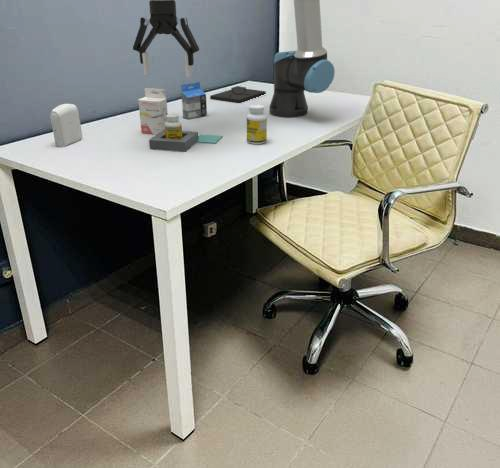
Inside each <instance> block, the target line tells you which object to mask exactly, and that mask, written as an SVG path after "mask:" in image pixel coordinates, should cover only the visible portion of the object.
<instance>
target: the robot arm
mask: <svg viewBox="0 0 500 468" xmlns="http://www.w3.org/2000/svg"><path fill="white" fill-rule="evenodd" d="M148 4H149V14H150V17H146V16H144V17H141V18H140V21H139V22H140V24H139V29H138V31H137V34H136V37H135V41H134V44H133V46H132V50H133V51H136V52H138V54H139V62H140V64H141V65H143V66H142V67H143V76H145V77H146V76H149V75H151V69H150V55H149V52H148V51H147V49H148V48H149V47H150V45H151V43H152V41H153V40H154V39H155V37H156V36H157V35H163V34H164V35H172V36H173V37H174V38H175V40H176V41H177V43H179V45H180V46H181V47H182V48H183V50H184V51H185V52H186V54H184V63H185V64H184V66H185V78H190V77H192V66H194V65H195V64H194V63H195V62H194V61H195V59H194V54H195V53H197V52H199V51H200V47H199V45H198V43H197V41H196V39H195V37H194V35H193V33H192V31H191V28H190V27H189V24H188V23H189V22H188V19H187V17H181V18H178V17H177V6H176V5H177V3H176V0H149V2H148ZM293 7H294V9H293V10H294V17H295V18H294V22H295V33H296V45H297V50H290V51H279V52H276V54H275V55H274V60H273V65H274V66H273V67H274V70H273V72H274V74H273V75H274V78H273V79H274V81H273V96H272V99H271V101H270V104H269V111H268V113H269V114H270V115H272V116H275V117H282V118H296V117H303V116H306V115H307V114H308V113H309V107H308V102H307V100H306V95H305V92H308V93H312V94H313V93H314V94H321V93H323V92H325V91H326V90H327V89H328V88H329V87H330V86H331V84H332V83H333V81H334V79H335V74H336V73H335V66H334V64H333V63H332V62H331V61H330V60H329V59H328V50H327V49H326V48H324V46H323V37H322V19H321V18H322V17H321V3H320V0H293ZM149 25H151V27H152V28H151V29H150V31H149V33H148V34H147V36H146V38H145V39H144V37H145V35H146V32H147V29H148V26H149ZM178 25H179V27H181V30H182V32H183V34H184V36H185V37H186V39H185V38H184V37H183V35H182V34H181V33H180V31H179V29H178V28H177V27H178Z"/></svg>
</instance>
